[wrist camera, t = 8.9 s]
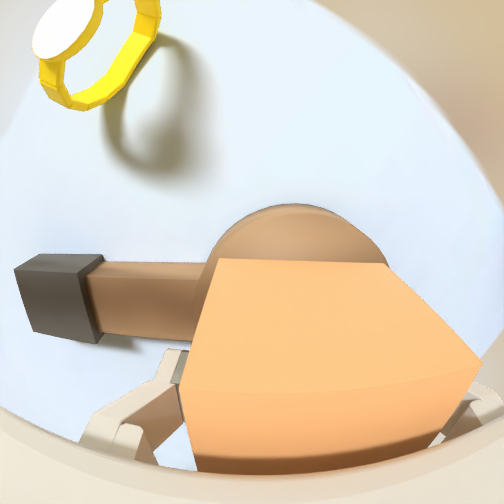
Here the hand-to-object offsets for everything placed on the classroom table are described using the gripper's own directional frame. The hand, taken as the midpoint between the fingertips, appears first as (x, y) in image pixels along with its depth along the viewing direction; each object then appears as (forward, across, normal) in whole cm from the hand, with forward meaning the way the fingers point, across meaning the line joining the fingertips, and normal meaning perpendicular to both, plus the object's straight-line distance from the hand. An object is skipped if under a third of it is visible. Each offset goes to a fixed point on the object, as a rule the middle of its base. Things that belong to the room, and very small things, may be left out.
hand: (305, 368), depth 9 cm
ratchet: (+6, +5, 0) cm, 8 cm away
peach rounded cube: (+2, 0, 0) cm, 2 cm away
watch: (+6, +8, -12) cm, 15 cm away
